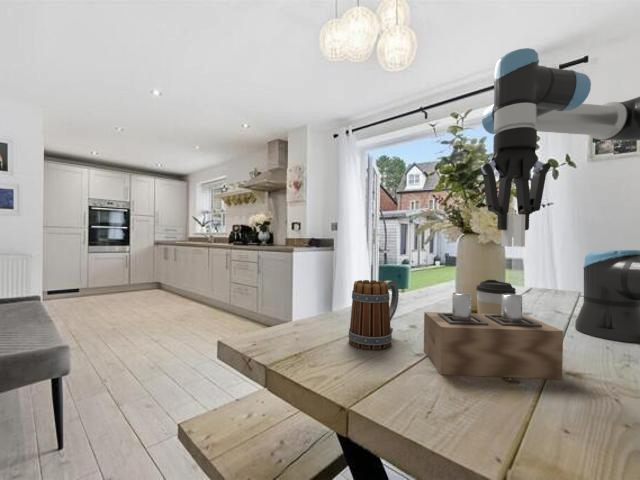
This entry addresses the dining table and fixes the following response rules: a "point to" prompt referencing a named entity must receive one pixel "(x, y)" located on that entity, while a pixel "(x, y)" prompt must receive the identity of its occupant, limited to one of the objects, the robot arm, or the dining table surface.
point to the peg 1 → (461, 307)
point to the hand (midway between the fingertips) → (512, 246)
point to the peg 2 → (511, 308)
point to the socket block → (493, 346)
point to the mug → (372, 314)
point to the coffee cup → (492, 296)
